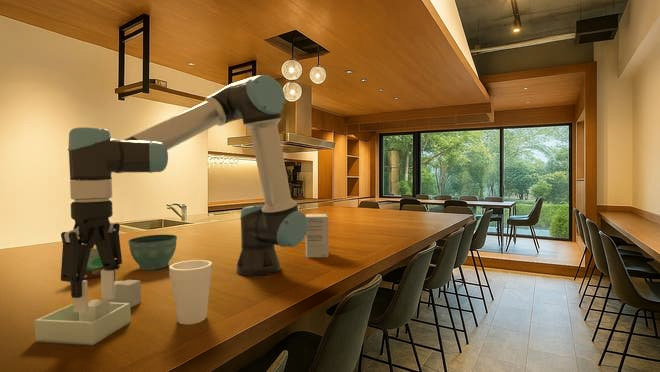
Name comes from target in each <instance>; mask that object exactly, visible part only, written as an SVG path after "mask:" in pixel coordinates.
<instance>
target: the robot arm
mask: <svg viewBox="0 0 660 372" xmlns="http://www.w3.org/2000/svg"><path fill="white" fill-rule="evenodd" d="M285 105H286V96H285V92H284V89H283V87H282V86H281V84H280V82H279V81H277V80H276V79H275V78H274V77H272V76H270V75H267V74H266V75H265V74H264V75H263V74H261V75H253V76H251V77H248V78H246V79H243V80H239V81H235V82H233V83H230V84H229V85H226V86H224V87H223V88H222V89H220V90H218V91H217V92H215V93H213V94H211V95H209V96H206V97H205V98H204V100H203V102H202V103H200V104H198V105H195V106H193V107H191V108H189V109H187V110H185V111H183V112H181V113H177V115H174V116H172V117H170V118H168V119H167V118H166V119H165V120H163V121H161V122H158V123H157V124H154V125H152V126H150V127H148V128H146V129H143V130H142V131H140V132H138V133H136V134H133V135H131V136H130V137H127V138H125V139H117V138H112V136H111V132H110V131H109V130H108V129H106V128H99V127H87V126H86V127H84V126H83V127H74V128H72V129H71V130H70V131H69V133H68V148H67V151H68V163H69V166H68V167H69V180H70V181H69V185H70V186H69V188H70V199H71V200H74V201H72V202H71V203H70V218H71V219H72V220H73V221H74V226H73V229H71V230H70V231H62V232H61V233H60V237H61V241H62V251H61V253H62V256H61V266H60V267H61V269H60V281H61V282H67V283H70V291H71V292H70V294H71V295H70V296H71V298H72V302H73V303H72V304H73V308H74V312H82V313H86V312H88V301H89V291H88V280H84V276H85V272H86V268H87V264H88V260H89V255H90V251H91V249H92V248H97V250H98V253H99V256H100V259H101V262H102V265H103V268H104V269H106V270H102V271H101V277H100V288H101V289H100V291H101V292H100V294H101V300H103V299H115V289H114V283H115V281H116V270H119V269H120V268H121V265H122V264H123V257H122V250H121V248H122V247H121V242H120V226H121V224H120V223H117V222H110V219H109V218H111V217H113V201H112V200H110V199H112V198H113V184H112V183H113V180H112V177H113V176H112V174H123V173H124V174H125V173H129V174H130V173H133V174H134V173H137V174H138V173H149V174H152V173H162V172H164V171H165V169H166V168H167V166H168V162H169V153H168V151H169V150H170V149H173V148H174V147H177V146H179V145H181V144H183V143H184V142H186V141H188V140H190V139H192V138H194V137H196V136H198V135H200V134H202V133H203V132H205V131H207V130H209V129H211V128H213V127H215V126H219V127H222V126H224V125H226V124H228V123H231V122H234V121H238V120H242V123H243V126H244V127H246V128H247V129H248V130H249V132H250V137H251V142H252V147H253V151H254V157H255V161H256V166H257V170H258V176H259V180H260V186H261V189H262V195H263V196H262V197H263V200H264V204H262V205H261V204H260V205H251V206H245V207H243V208H242V209H241V211H240V217H239V218H240V219H239V220H240V238H241V239H240V241H241V242H240V243H241V249H240V253H239V256H238V259H237V263H236V273H237V274H239V275H243V276H254V277H255V276H264V275H265V276H266V275H271V274H275V273H276V272H279V271H280V269H281V263H280V260H279V257H278V253H277V250H276V247H275V245H276V246H280V247H281V248H294V247H296V246H299V245H300V244H301V243H302V242H303V241H304V240H305V238H306V237H305V235H306V233H307V230H308V221H307V218H306V216H305V215H306V214H304V213H303V212H302V211H299V208H298V202H297V201H296V200H294V199H293V198H292V195H291V189H290V185H289V184H290V183H289V179H288V174H287V169H286V164H285V158H284V153H283V148H282V141H281V137H280V133H279V123H280V122H281V120H282V116H281V112H282V111H283V109H284V106H285ZM77 274H78V276H77Z"/></svg>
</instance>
